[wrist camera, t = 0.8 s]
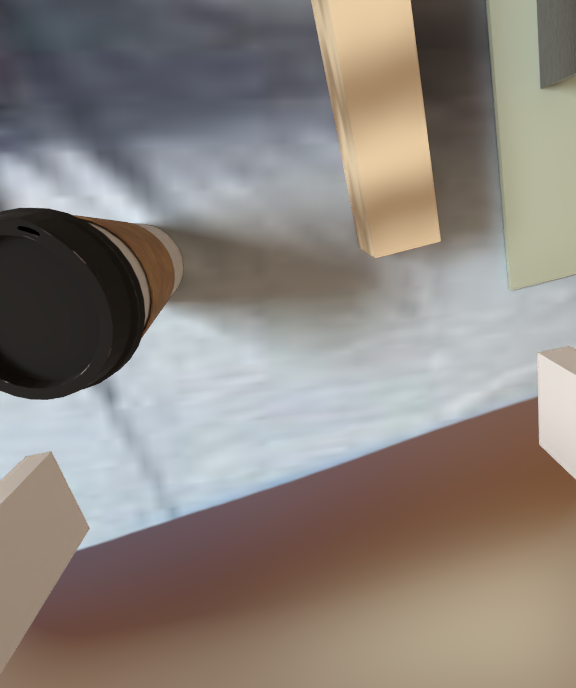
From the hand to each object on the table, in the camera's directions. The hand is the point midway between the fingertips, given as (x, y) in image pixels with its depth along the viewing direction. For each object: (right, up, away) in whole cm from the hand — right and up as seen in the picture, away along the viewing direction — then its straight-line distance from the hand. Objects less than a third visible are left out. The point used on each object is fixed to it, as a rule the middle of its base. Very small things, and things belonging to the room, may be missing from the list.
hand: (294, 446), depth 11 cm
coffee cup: (-11, +9, +19) cm, 24 cm away
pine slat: (+5, +19, +16) cm, 25 cm away
